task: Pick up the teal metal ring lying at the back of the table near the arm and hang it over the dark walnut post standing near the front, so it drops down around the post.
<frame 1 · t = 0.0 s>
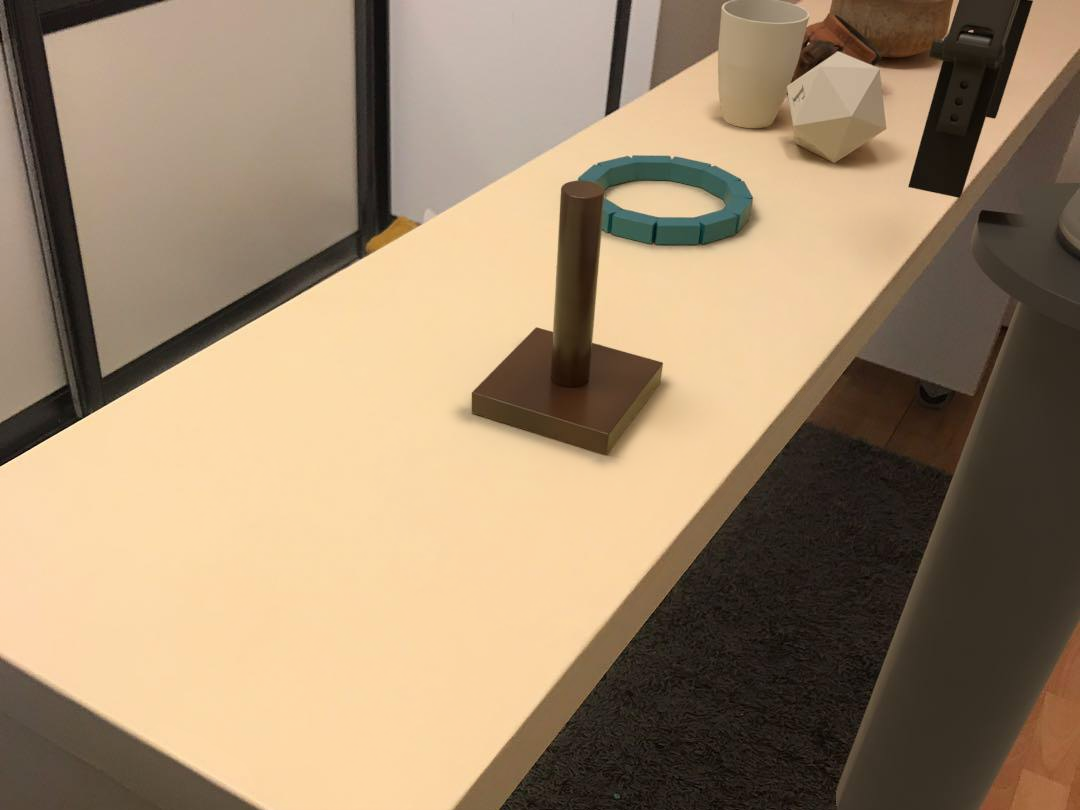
hand: (955, 149, 61), 15 cm above the table, tool pointing down, fingers open, 13 cm apart
bowl: (884, 49, 126), on the table
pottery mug: (816, 93, 113), on the table
die: (826, 152, 100), on the table
post: (568, 397, 67), on the table
cup: (747, 121, 106), on the table
ring: (662, 206, 89), on the table
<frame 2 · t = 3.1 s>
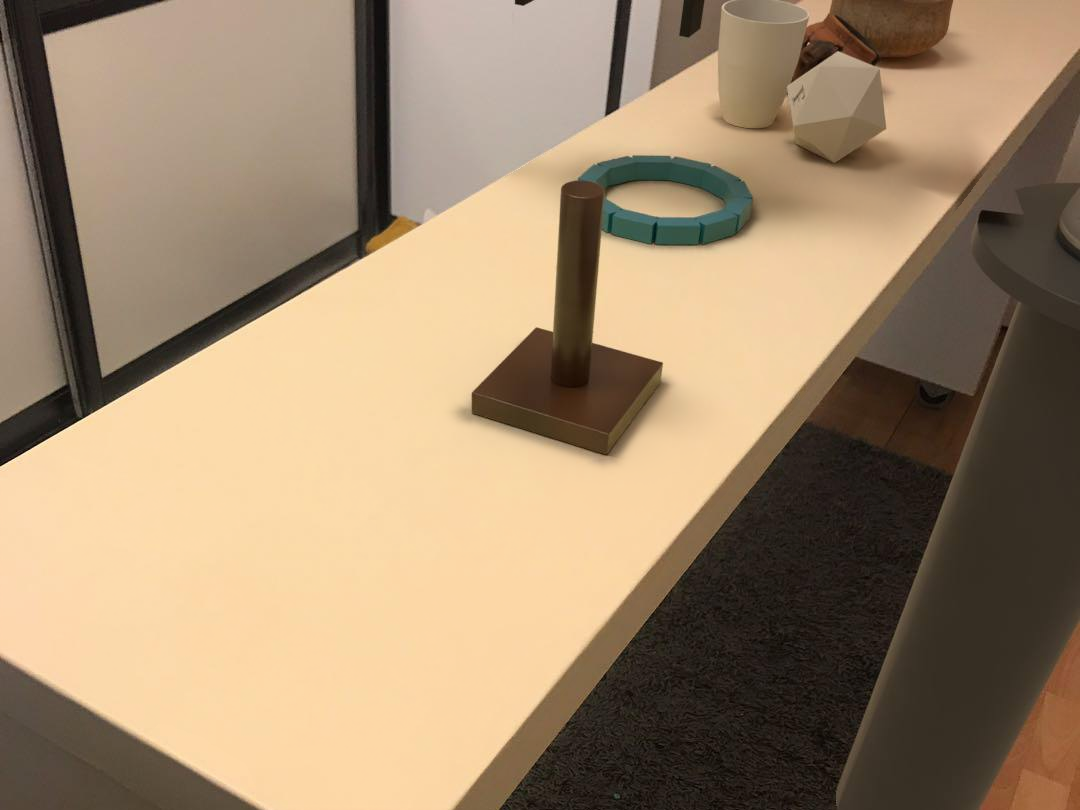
hand: (606, 16, 82), 14 cm above the table, tool pointing down, fingers open, 13 cm apart
nothing on the table moved.
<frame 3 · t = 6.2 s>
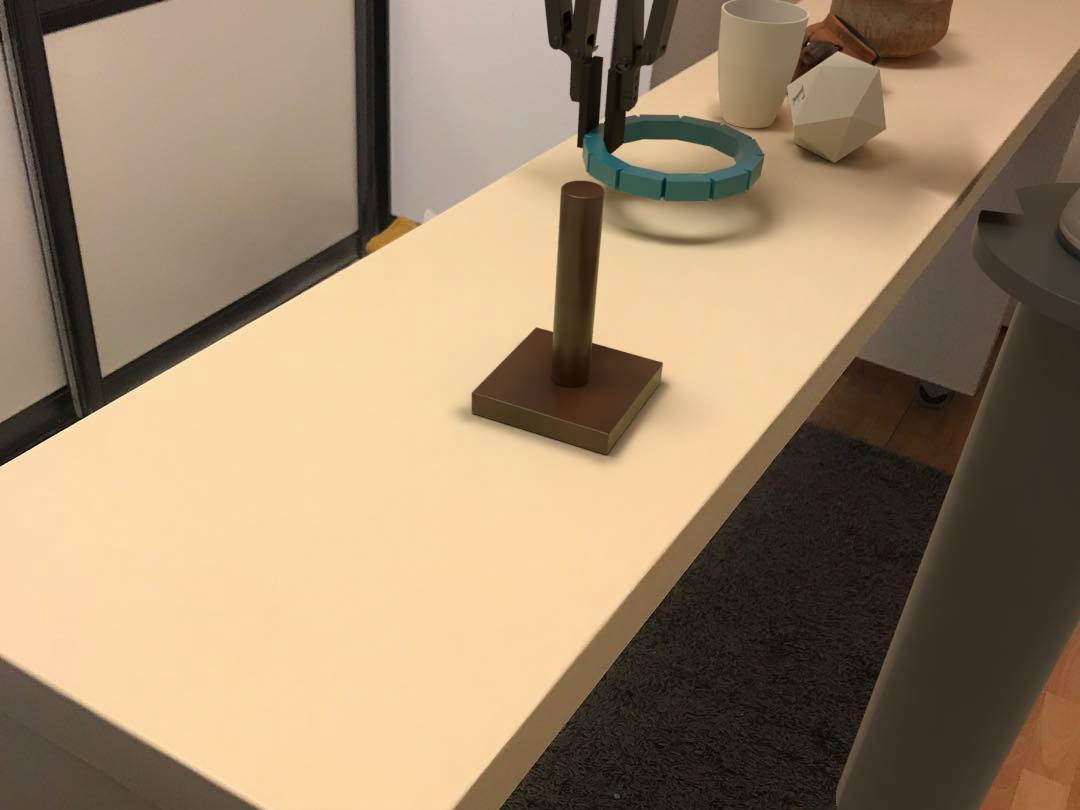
hand: (600, 144, 88), 4 cm above the table, tool pointing down, fingers closed on ring, 2 cm apart
ring: (670, 165, 87), point 4 cm above the table, touching gripper
everything else where it was.
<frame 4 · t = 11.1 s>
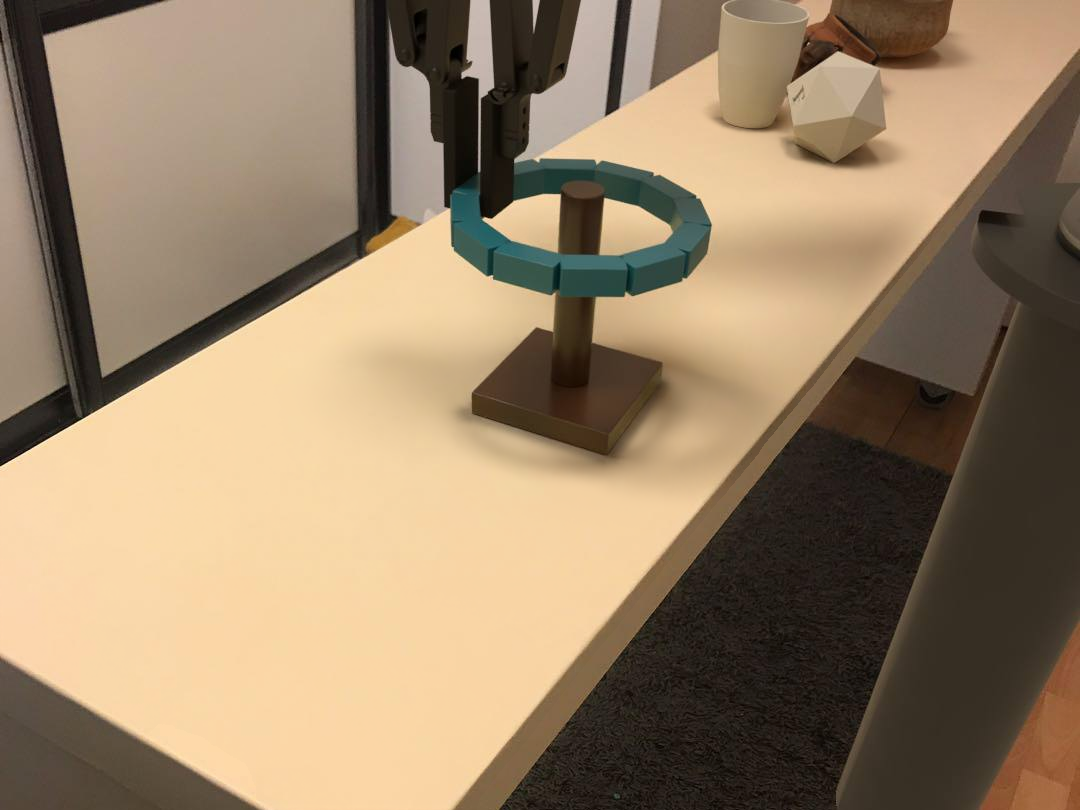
hand: (478, 203, 61), 11 cm above the table, tool pointing down, fingers closed on ring, 2 cm apart
ring: (577, 235, 60), point 11 cm above the table, touching gripper
everything else where it was.
when the fingers open (4 cm above the table, at t = 16.2 s): ring drops 1 cm, resting on post.
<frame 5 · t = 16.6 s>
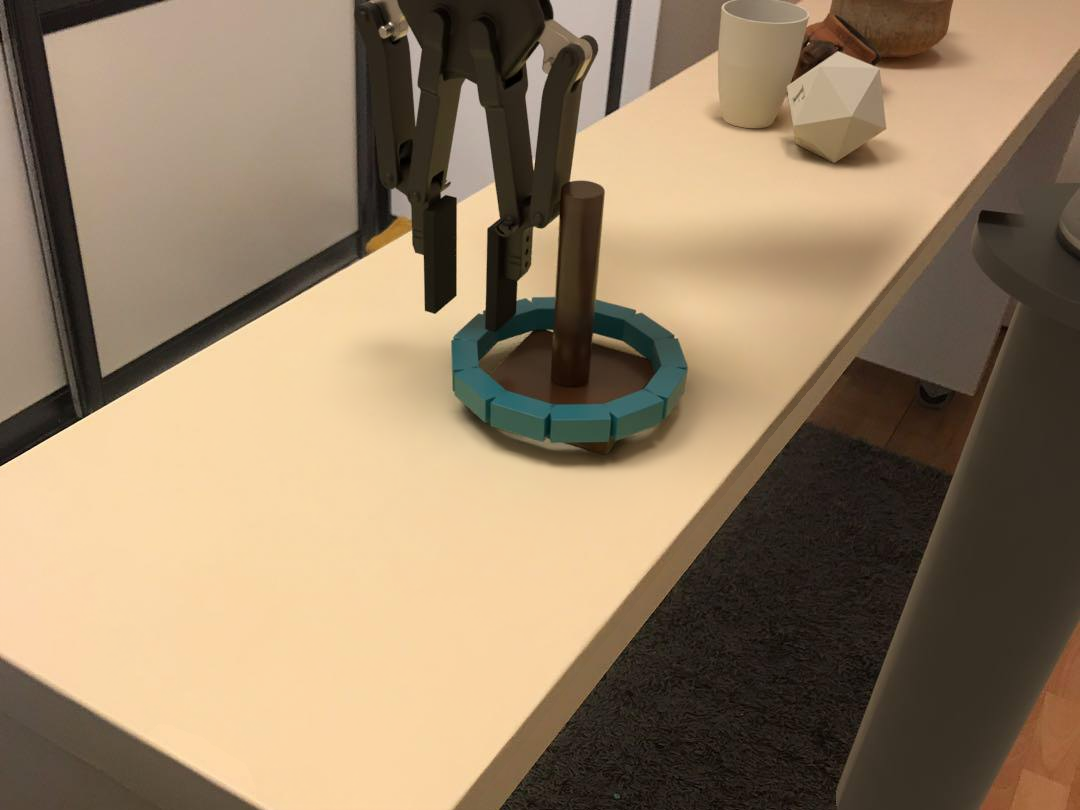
hand: (470, 311, 66), 4 cm above the table, tool pointing down, fingers open, 4 cm apart
ring: (567, 375, 66), point 1 cm above the table, touching post
everything else where it was.
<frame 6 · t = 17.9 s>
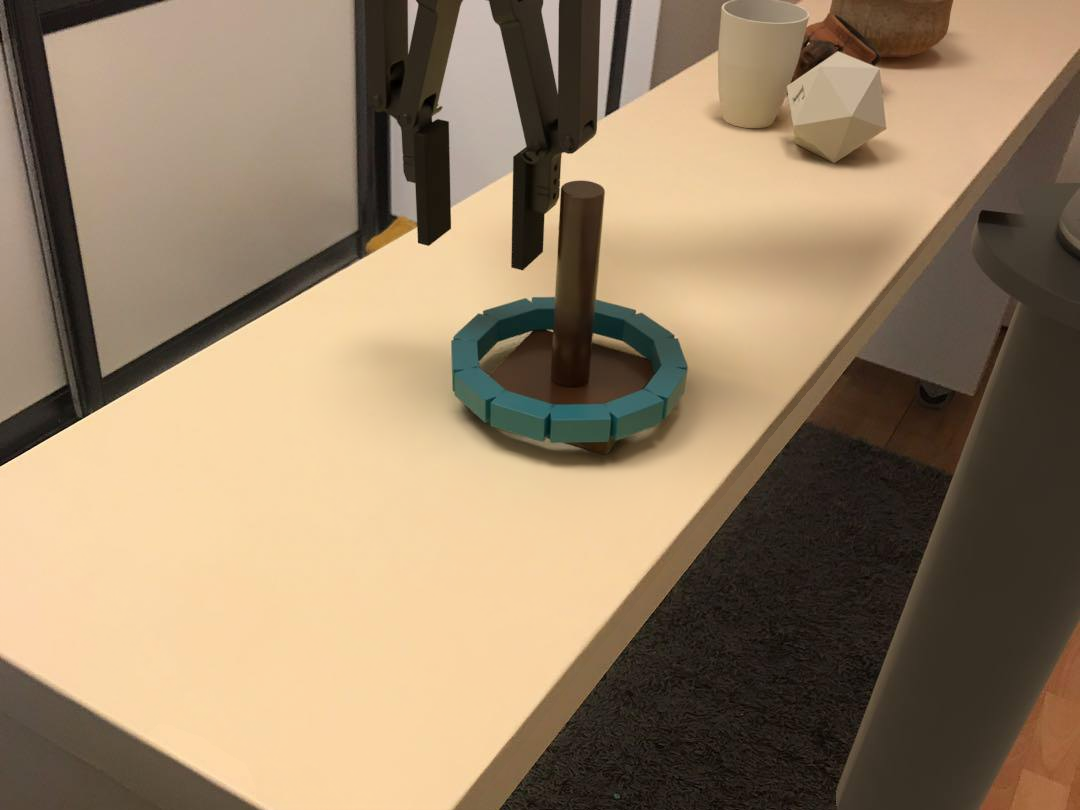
hand: (480, 246, 63), 8 cm above the table, tool pointing down, fingers open, 6 cm apart
nothing on the table moved.
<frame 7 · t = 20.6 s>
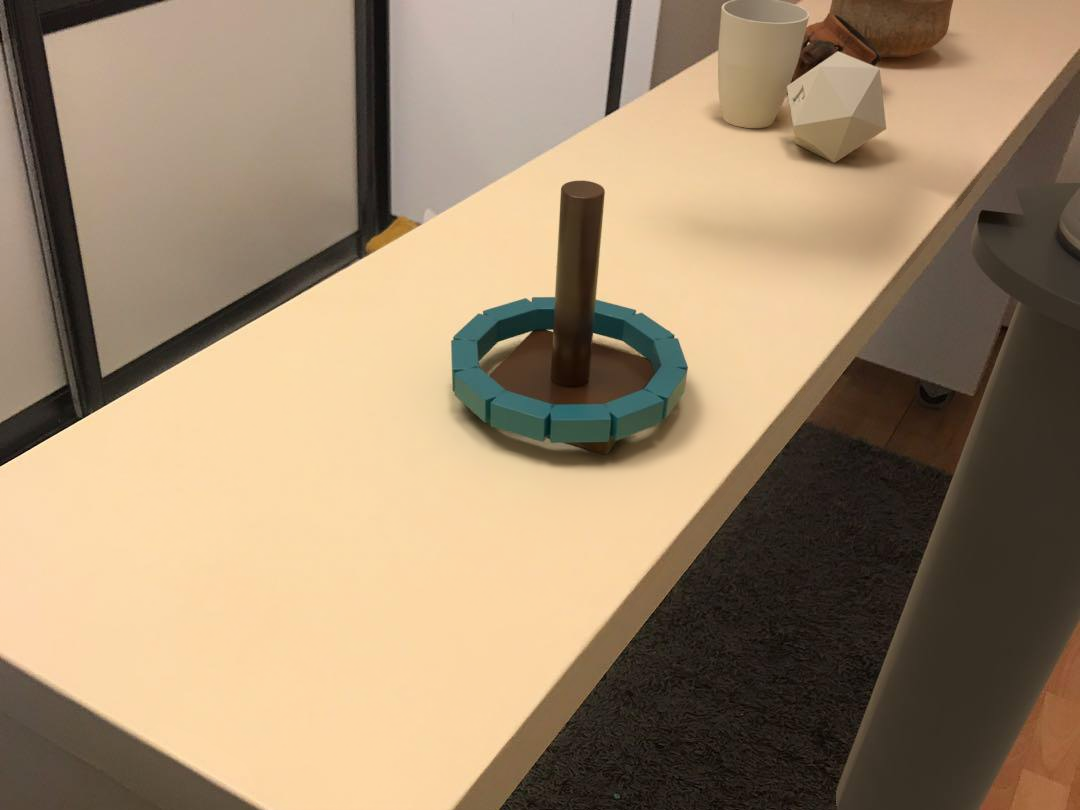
nothing on the table moved.
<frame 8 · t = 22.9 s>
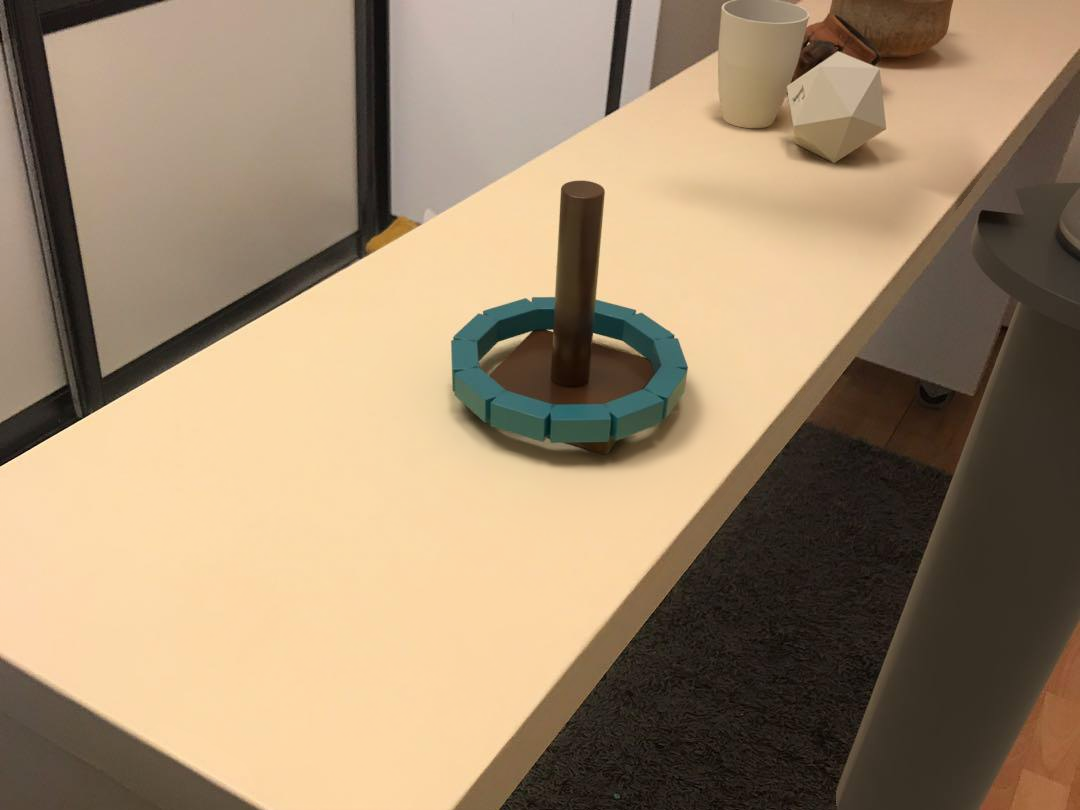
nothing on the table moved.
at the end: ring 0.2 cm from the post (horizontally); ring point 1.5 cm above the table; the gripper is holding nothing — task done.
